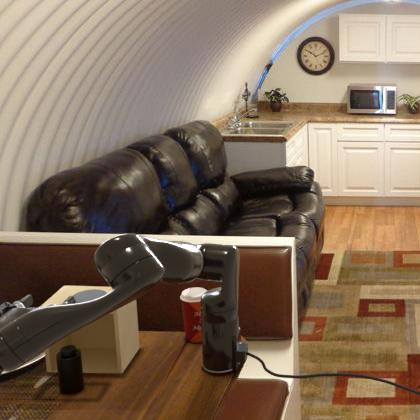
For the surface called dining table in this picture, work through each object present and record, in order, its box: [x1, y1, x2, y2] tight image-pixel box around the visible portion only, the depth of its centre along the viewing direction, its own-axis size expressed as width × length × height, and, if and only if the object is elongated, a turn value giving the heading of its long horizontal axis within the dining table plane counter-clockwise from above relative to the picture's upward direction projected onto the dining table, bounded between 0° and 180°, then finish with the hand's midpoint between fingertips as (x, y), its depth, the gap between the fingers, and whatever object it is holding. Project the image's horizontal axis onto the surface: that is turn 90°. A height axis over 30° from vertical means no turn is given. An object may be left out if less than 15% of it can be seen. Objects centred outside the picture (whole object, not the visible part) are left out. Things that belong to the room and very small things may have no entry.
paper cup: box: [179, 286, 208, 344], centre depth 177 cm, size 8×8×14 cm
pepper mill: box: [56, 345, 85, 396], centre depth 148 cm, size 5×5×11 cm
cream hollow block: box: [39, 285, 141, 374], centre depth 161 cm, size 18×13×19 cm
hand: (51, 299), depth 134 cm, fingers open, 8 cm apart
